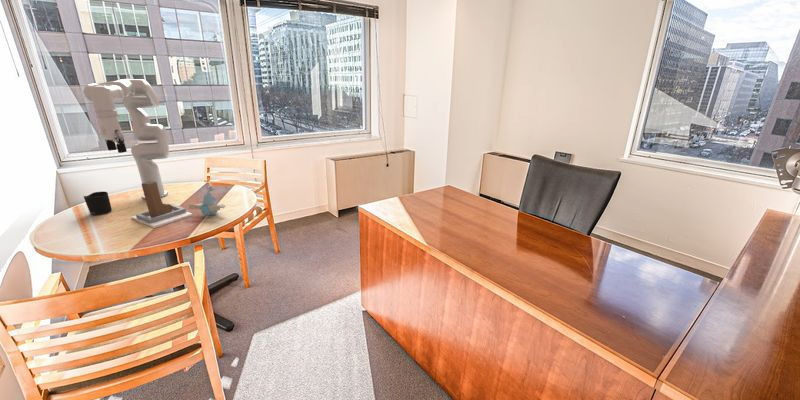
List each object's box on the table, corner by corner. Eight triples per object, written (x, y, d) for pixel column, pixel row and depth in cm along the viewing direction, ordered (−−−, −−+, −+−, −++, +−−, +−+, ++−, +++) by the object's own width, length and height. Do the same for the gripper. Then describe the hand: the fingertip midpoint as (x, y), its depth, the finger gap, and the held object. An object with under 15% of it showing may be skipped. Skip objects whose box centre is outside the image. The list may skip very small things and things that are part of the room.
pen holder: (88, 212, 175) (82, 194, 172) (111, 207, 182) (105, 190, 178) (90, 217, 169) (84, 198, 166) (114, 212, 176) (108, 194, 172)
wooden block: (165, 211, 175) (157, 178, 169) (172, 212, 174) (164, 179, 168) (150, 217, 167) (140, 183, 160) (157, 218, 166) (148, 184, 160)
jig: (131, 218, 168) (130, 213, 167) (169, 207, 183) (168, 202, 182) (154, 228, 158) (153, 222, 157) (192, 215, 173) (191, 210, 172)
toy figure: (232, 211, 178) (227, 184, 173) (220, 219, 169) (215, 191, 163) (203, 209, 180) (197, 183, 175) (190, 217, 170) (183, 189, 165)
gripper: (88, 113, 153) (99, 150, 159) (106, 116, 145) (117, 154, 151) (107, 112, 159) (117, 147, 165) (125, 114, 152) (135, 151, 158)
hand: (117, 151), depth 158 cm, fingers open, 9 cm apart
